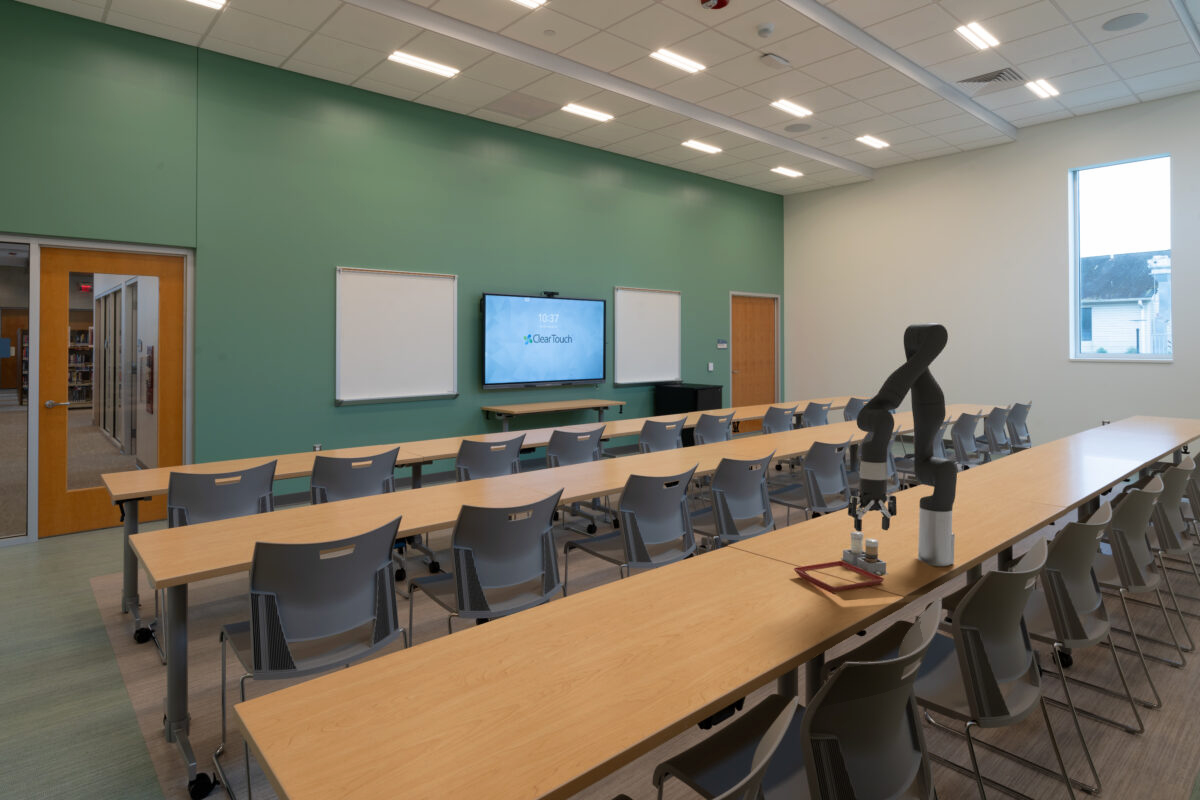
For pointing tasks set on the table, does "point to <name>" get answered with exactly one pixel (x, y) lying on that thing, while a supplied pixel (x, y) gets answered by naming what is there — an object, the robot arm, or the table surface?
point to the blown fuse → (871, 551)
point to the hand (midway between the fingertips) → (871, 530)
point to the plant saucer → (825, 586)
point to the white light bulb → (856, 543)
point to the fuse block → (864, 563)
